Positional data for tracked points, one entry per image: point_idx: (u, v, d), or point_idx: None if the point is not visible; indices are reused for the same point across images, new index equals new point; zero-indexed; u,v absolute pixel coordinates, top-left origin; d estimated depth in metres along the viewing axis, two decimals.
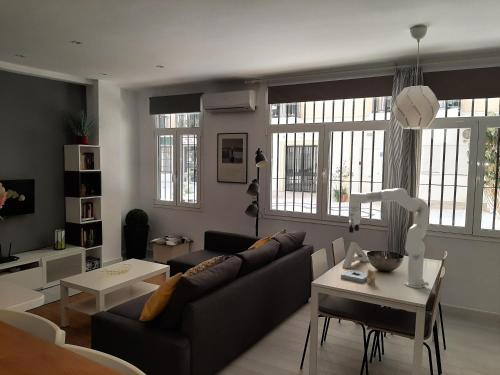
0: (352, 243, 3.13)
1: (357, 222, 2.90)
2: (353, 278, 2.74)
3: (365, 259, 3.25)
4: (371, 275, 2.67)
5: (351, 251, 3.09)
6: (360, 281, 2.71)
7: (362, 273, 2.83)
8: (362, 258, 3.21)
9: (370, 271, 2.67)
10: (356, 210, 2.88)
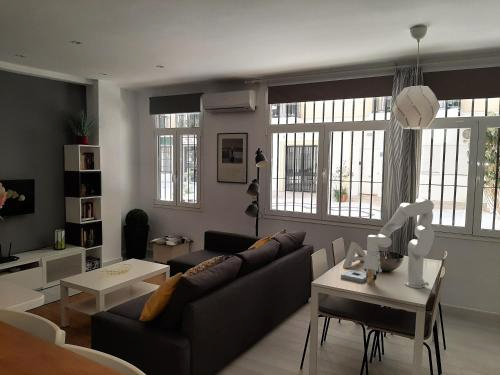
0: (352, 243, 3.13)
1: None
2: (353, 278, 2.74)
3: None
4: (371, 275, 2.67)
5: (351, 251, 3.10)
6: (360, 281, 2.71)
7: (362, 273, 2.83)
8: (362, 258, 3.22)
9: (370, 271, 2.67)
10: None
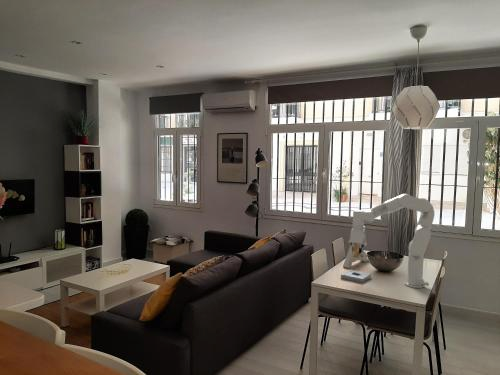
0: None
1: None
2: (353, 278, 2.74)
3: (366, 259, 3.26)
4: (356, 248, 2.77)
5: (352, 251, 3.10)
6: (360, 281, 2.71)
7: (362, 273, 2.83)
8: (363, 258, 3.22)
9: (356, 244, 2.77)
10: None
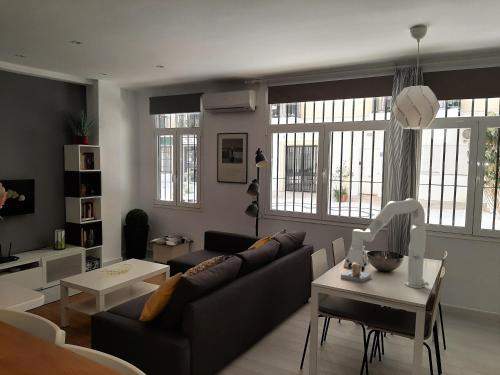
0: None
1: None
2: (353, 278, 2.74)
3: None
4: (356, 270, 2.79)
5: None
6: (360, 281, 2.71)
7: (362, 273, 2.83)
8: None
9: (355, 266, 2.79)
10: None
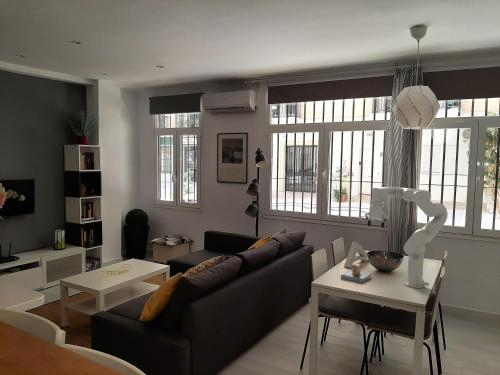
0: (354, 242, 3.15)
1: None
2: (353, 278, 2.74)
3: None
4: (355, 270, 2.79)
5: (353, 250, 3.11)
6: (360, 281, 2.71)
7: (362, 273, 2.83)
8: (364, 257, 3.23)
9: (355, 266, 2.79)
10: None
